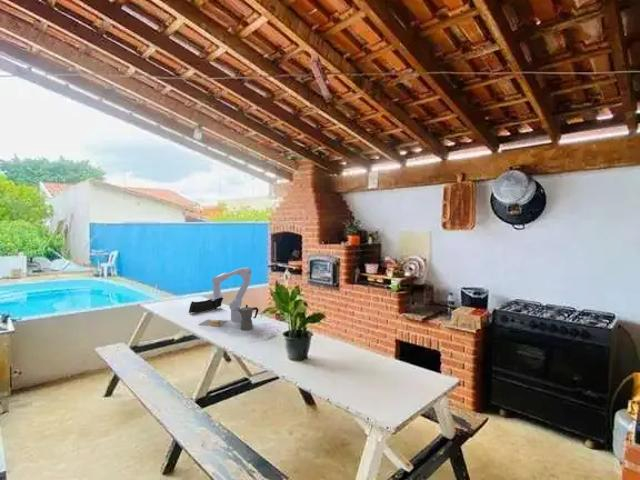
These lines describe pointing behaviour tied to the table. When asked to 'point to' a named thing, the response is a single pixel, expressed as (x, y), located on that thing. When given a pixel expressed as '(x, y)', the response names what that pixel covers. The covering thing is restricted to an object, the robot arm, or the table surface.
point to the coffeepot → (247, 317)
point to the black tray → (201, 306)
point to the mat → (207, 323)
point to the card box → (215, 322)
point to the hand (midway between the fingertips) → (217, 307)
